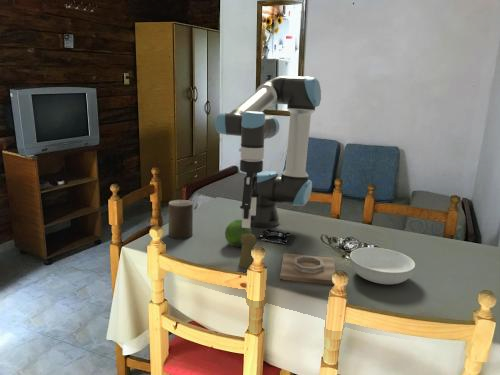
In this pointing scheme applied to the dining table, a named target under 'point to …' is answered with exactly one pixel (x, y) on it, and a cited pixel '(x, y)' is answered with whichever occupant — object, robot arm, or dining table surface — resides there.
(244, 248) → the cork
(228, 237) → the fruit
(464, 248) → the dining table surface
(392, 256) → the serving bowl
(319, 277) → the socket board
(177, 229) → the pillar candle
